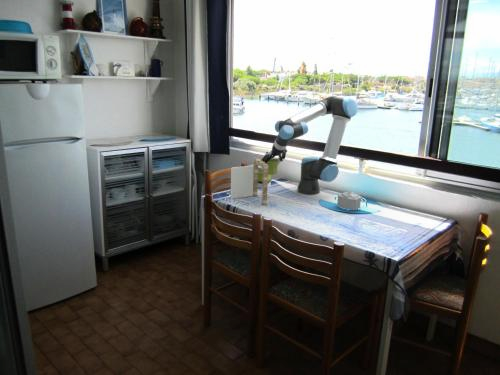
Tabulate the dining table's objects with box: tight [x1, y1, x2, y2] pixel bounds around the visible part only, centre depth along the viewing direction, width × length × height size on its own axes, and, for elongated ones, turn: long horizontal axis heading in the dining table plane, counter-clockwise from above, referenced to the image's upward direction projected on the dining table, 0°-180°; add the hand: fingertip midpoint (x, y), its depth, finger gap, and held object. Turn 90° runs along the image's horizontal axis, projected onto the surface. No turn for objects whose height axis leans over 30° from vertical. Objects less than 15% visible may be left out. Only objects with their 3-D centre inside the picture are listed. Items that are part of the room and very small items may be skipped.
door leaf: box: [230, 165, 254, 199], centre depth 252 cm, size 15×3×19 cm, turn 117°
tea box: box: [248, 163, 272, 190], centre depth 278 cm, size 15×10×15 cm, turn 73°
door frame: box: [253, 157, 269, 206], centre depth 248 cm, size 21×2×24 cm, turn 17°
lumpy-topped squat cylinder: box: [336, 191, 362, 211], centre depth 240 cm, size 10×13×9 cm
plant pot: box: [266, 158, 279, 176], centre depth 255 cm, size 9×9×9 cm
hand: (269, 166), depth 258 cm, fingers closed on plant pot, 9 cm apart
